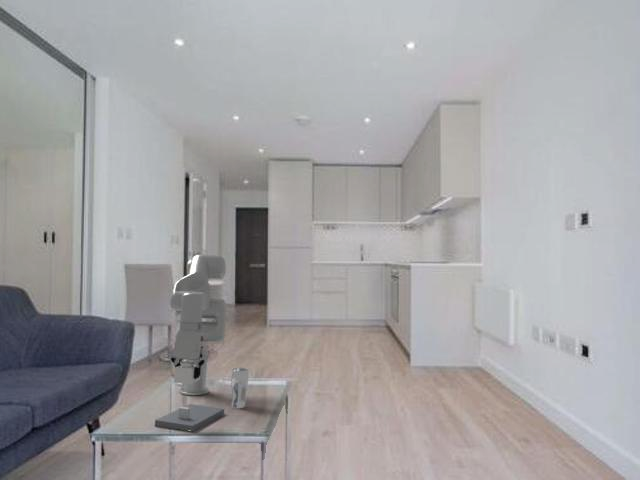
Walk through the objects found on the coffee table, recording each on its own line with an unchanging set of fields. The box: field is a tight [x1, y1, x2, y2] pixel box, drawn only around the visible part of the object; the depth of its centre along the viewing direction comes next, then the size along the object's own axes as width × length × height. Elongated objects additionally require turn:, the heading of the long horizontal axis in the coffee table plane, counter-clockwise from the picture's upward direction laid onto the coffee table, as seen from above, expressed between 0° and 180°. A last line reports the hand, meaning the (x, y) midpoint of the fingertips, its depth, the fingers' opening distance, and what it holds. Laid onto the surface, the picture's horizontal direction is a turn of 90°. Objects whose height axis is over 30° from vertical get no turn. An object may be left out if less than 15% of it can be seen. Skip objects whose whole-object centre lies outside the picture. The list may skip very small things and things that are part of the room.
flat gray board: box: [154, 403, 225, 432], centre depth 165 cm, size 15×22×6 cm
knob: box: [173, 360, 200, 384], centre depth 162 cm, size 7×7×7 cm
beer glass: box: [230, 367, 249, 410], centre depth 184 cm, size 7×7×15 cm
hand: (187, 376), depth 162 cm, fingers closed on knob, 6 cm apart
